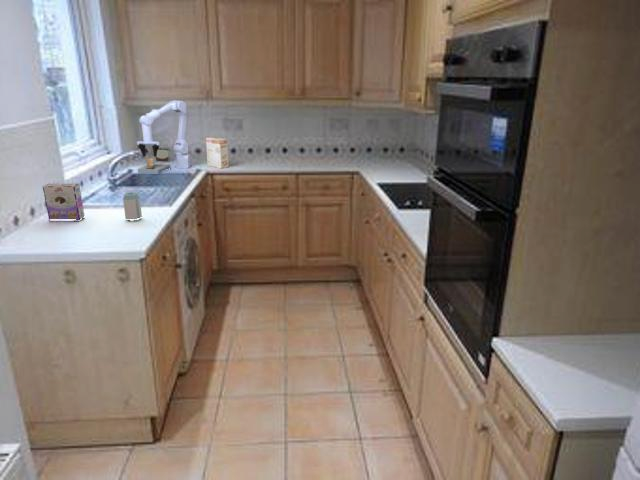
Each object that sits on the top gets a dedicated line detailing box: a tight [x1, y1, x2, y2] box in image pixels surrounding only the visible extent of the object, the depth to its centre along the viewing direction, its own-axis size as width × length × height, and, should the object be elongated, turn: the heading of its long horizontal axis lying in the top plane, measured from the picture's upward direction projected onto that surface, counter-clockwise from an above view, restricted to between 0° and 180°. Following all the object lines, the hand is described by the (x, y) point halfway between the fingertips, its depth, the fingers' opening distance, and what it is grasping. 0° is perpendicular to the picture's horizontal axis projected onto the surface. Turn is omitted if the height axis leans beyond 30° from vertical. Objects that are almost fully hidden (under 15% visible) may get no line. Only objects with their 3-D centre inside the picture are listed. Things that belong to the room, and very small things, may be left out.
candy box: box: [42, 182, 85, 220], centre depth 217 cm, size 14×6×16 cm, turn 92°
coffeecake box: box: [205, 136, 229, 169], centre depth 335 cm, size 15×7×20 cm, turn 51°
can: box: [122, 192, 143, 220], centre depth 219 cm, size 7×7×12 cm
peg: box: [146, 157, 155, 169], centre depth 317 cm, size 4×4×9 cm
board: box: [137, 163, 171, 175], centre depth 322 cm, size 14×18×2 cm
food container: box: [155, 146, 171, 163], centre depth 353 cm, size 12×6×10 cm, turn 84°
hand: (149, 156), depth 315 cm, fingers open, 7 cm apart
